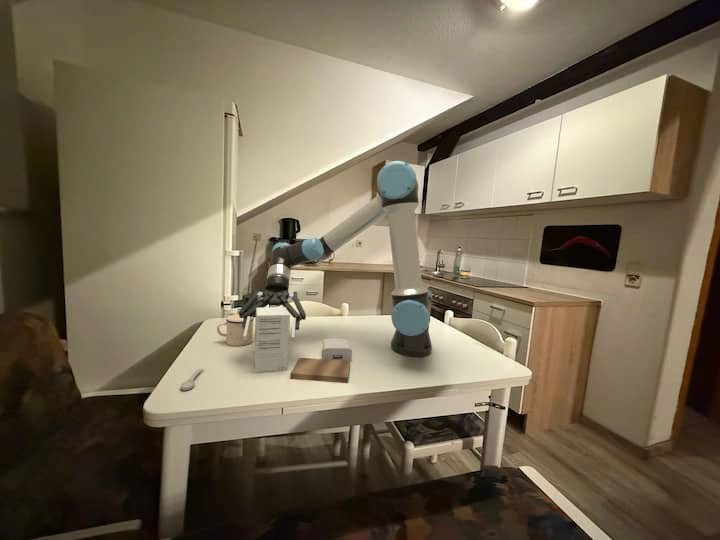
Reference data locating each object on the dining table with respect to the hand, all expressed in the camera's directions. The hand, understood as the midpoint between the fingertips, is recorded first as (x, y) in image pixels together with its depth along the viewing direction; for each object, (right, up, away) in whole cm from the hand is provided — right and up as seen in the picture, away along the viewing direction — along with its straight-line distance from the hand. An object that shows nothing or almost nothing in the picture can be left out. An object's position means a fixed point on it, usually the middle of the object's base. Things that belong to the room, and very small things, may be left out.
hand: (269, 338), depth 86 cm
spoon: (-17, -9, -10) cm, 22 cm away
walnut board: (+16, -10, 0) cm, 18 cm away
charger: (+18, -9, +15) cm, 25 cm away
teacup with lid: (-18, -6, +18) cm, 26 cm away
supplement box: (0, -9, +2) cm, 9 cm away
